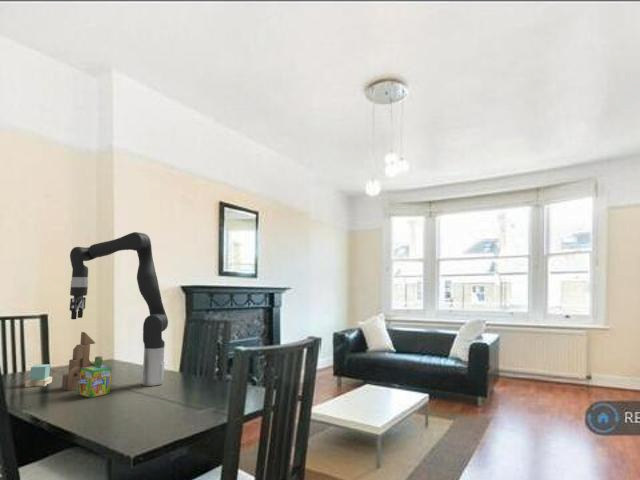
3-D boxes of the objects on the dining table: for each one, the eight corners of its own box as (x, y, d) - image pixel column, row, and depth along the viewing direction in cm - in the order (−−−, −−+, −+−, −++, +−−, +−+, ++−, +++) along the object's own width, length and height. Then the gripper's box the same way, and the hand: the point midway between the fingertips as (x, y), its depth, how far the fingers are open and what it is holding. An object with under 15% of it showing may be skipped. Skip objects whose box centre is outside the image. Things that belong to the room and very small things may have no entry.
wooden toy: (70, 391, 183) (75, 334, 185) (61, 389, 186) (65, 333, 188) (102, 383, 197) (105, 330, 199) (93, 382, 200) (96, 330, 202)
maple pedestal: (51, 382, 198) (52, 376, 199) (44, 387, 191) (45, 380, 191) (33, 383, 197) (33, 377, 197) (25, 387, 189) (25, 381, 189)
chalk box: (77, 395, 177) (80, 360, 178) (98, 390, 185) (100, 357, 186) (90, 398, 172) (93, 362, 174) (110, 393, 180) (113, 359, 182)
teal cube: (49, 376, 198) (50, 364, 198) (44, 379, 192) (45, 366, 193) (35, 377, 196) (36, 364, 197) (29, 380, 190) (30, 367, 191)
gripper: (82, 286, 202) (79, 319, 200) (91, 286, 215) (89, 317, 214) (65, 286, 200) (62, 319, 198) (76, 286, 214) (74, 317, 212)
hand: (76, 318), depth 206 cm, fingers open, 8 cm apart
